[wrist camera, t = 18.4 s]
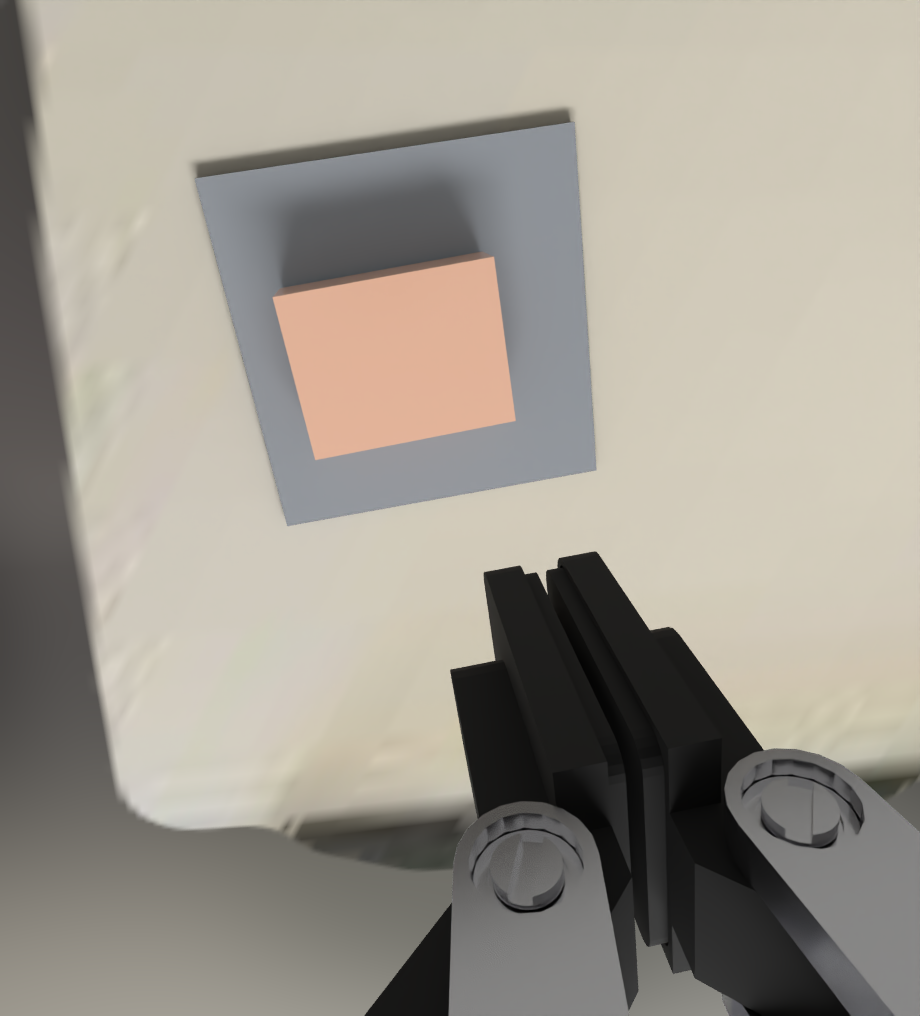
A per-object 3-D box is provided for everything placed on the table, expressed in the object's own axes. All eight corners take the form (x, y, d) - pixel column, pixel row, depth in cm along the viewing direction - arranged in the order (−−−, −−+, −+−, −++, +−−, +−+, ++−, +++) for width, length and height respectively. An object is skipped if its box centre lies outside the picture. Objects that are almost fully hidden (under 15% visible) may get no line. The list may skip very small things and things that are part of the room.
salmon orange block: (494, 256, 29) (272, 297, 28) (515, 420, 32) (315, 460, 31) (481, 250, 32) (280, 287, 31) (502, 401, 35) (319, 436, 34)
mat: (571, 122, 31) (574, 121, 30) (593, 466, 37) (596, 470, 37) (197, 178, 30) (194, 178, 29) (288, 521, 36) (287, 526, 36)
